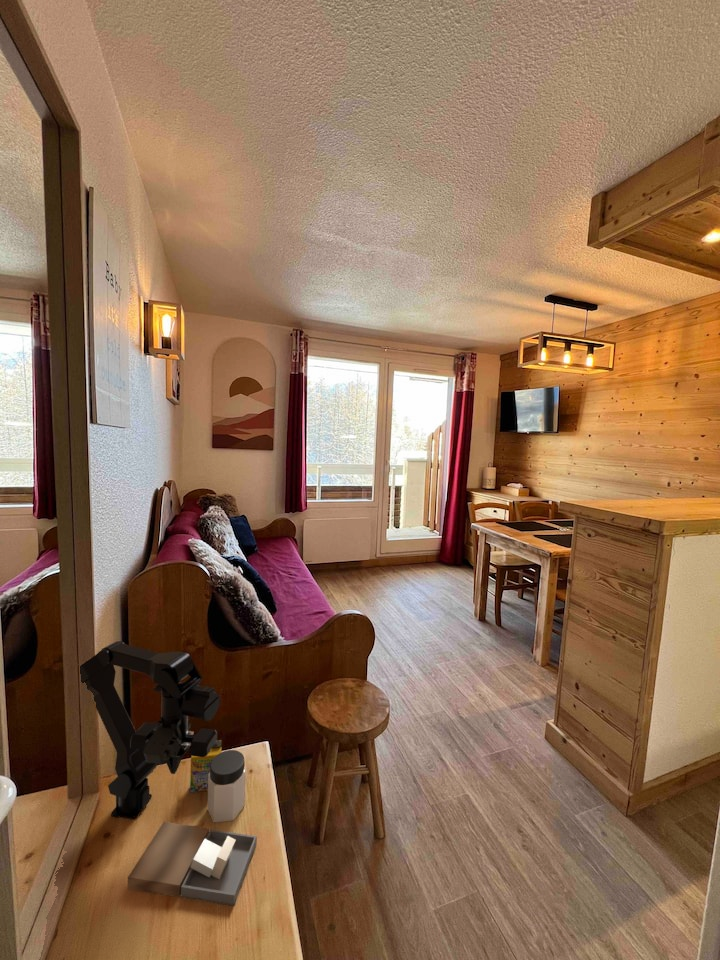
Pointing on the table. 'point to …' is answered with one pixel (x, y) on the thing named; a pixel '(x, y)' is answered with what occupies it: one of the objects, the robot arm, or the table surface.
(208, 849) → the tile
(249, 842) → the tray
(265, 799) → the table surface
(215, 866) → the tile
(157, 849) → the brown board
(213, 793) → the jar
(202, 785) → the crayon box
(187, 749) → the robot arm
